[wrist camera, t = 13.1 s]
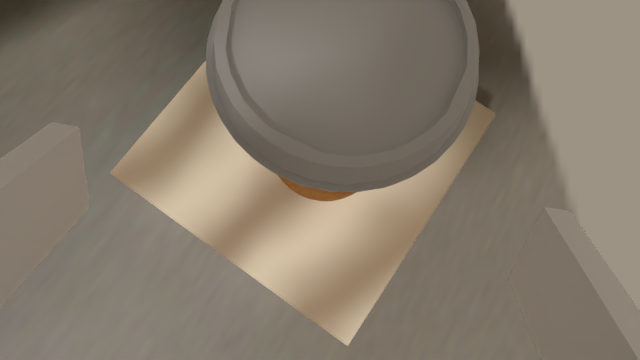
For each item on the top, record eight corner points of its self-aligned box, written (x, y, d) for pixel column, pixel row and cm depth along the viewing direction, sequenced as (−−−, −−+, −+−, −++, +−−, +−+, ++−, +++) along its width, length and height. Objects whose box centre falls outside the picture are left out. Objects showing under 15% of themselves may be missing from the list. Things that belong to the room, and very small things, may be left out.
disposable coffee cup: (409, 79, 28) (492, -73, 16) (403, 237, 25) (495, 196, 14) (251, 64, 27) (217, -101, 16) (232, 222, 25) (176, 169, 13)
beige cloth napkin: (122, 181, 27) (109, 172, 25) (280, -8, 31) (280, -27, 29) (343, 341, 26) (347, 345, 24) (483, 125, 29) (496, 113, 27)
